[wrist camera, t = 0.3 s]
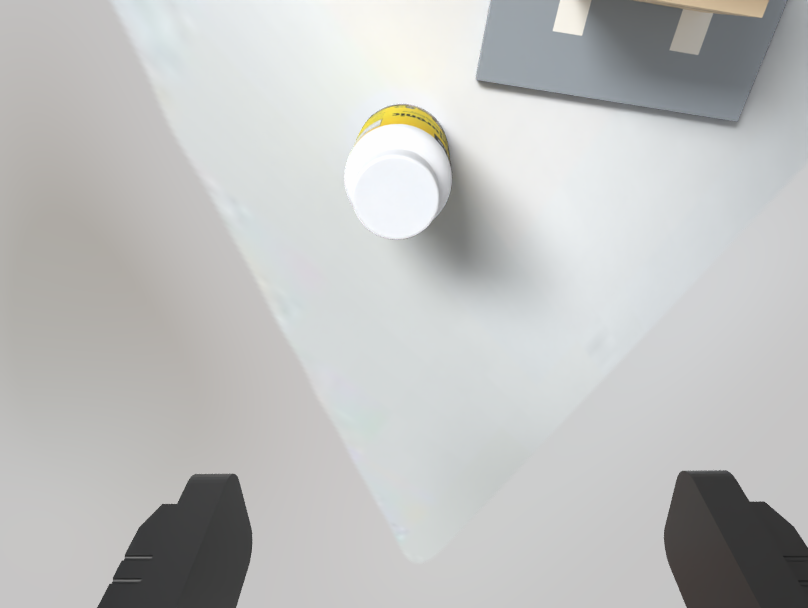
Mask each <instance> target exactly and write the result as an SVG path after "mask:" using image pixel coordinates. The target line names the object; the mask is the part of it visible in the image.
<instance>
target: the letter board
mask: <svg viewBox="0 0 808 608" xmlns="http://www.w3.org/2000/svg"><path fill="white" fill-rule="evenodd" d="M787 1H788V0H769V2H768V4H767V7H766V9H765V12H764V14H763V17H762V18H757V17H747V16H736V15H726V14H715V13H705V12H698V11H692V10H686V9H680V8H674V7H669V6H663V5H657V4H651V3H645V2H639V1H633V0H491V1H490V6H489V11H488V17H487V22H486V27H485V32H484V37H483V43H482V48H481V53H480V58H479V63H478V68H477V74H476V80H480V81H487V82H493V83H499V84H505V85H512V86H518V87H524V88H530V89H536V90H543V91H549V92H555V93H561V94H568V95H574V96H580V97H586V98H593V99H599V100H605V101H611V102H618V103H624V104H630V105H636V106H643V107H649V108H655V109H661V110H667V111H674V112H680V113H686V114H692V115H699V116H705V117H711V118H717V119H724V120H730V121H736V122H738V120H739V117H740V115H741V112H742V110H743V108H744V105H745V103H746V100H747V98H748V95H749V93H750V91H751V88H752V86H753V83H754V81H755V78H756V76H757V73H758V71H759V69H760V66H761V64H762V61H763V59H764V56H765V54H766V52H767V49H768V47H769V44H770V42H771V39H772V37H773V35H774V32H775V30H776V27H777V25H778V22H779V20H780V18H781V15H782V13H783V10H784V8H785V5H786V3H787Z"/></svg>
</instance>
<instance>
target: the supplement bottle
mask: <svg viewBox="0 0 808 608" xmlns="http://www.w3.org/2000/svg"><path fill="white" fill-rule="evenodd" d="M344 183H345V190H346V194H347V197H348V200H349V202H350V204H351V205H352V207H353V209H354V210H355V213H356V215H357V217H358V219H359V220H360V222H361V223H362V224H363V225H364V226H365V227H366V228H367V229H368V230H369V231H371V232H372V233H374V234H376V235H378V236H380V237H383V238H387V239H393V240H399V239H407V238H410V237H413V236H415V235H417V234H419V233H421V232H422V231H423V230H425V229H426V228H427V227H428V226H429V225H430V223H431V222H432V221H433V219H434V218H436V217H437V215H438V214H439V213H440V212H441V210H442V209H443V208H444V206H445V204H446V203H447V200H448V198H449V195H450V191H451V186H452V169H451V163H450V156H449V149H448V143H447V139H446V136H445V133H444V131H443V129H442V127H441V125H440V124H439V122H438V121H437V120H436V118H435V117H434V116H432V115H431V114H430V113H429V112H427V111H426V110H424V109H422V108H420V107H418V106H415V105H411V104H393V105H390V106H387V107H384V108H382V109H380V110H379V111H377V112H376V113H374V114H373V115H372V116H371V117H370V118H369V119H368V120H367V122H366V123H365V124H364V126H363V127H362V129H361V131H360V133H359V135H358V137H357V139H356V142H355V144H354V146H353V148H352V150H351V152H350V154H349V157H348V159H347V163H346V167H345V173H344Z"/></svg>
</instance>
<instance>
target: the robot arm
mask: <svg viewBox="0 0 808 608" xmlns="http://www.w3.org/2000/svg"><path fill="white" fill-rule="evenodd" d="M664 542H665V550H666V555H667V559H668V562H669V565H670V568H671V570H672V573H673V575H674V577H675V580H676V582H677V585H678V587H679V590H680V592H681V595H682V597H683V600H684V602H685V604H686V606H687V608H808V547H807V546H806V545H805V543H804V541H803V540H802V538H801V537H800V535H799V534H798V532H797V531H796V529H795V528H794V527H793V526H792V525H791V524H790V523H789V522H788V521H786V520H785V519H784V518H783V517H782V516H781V515H779V514H778V513H777V512H776V511H775V510H774V509H773V508H771V507H770V506H769V505H768V504H767V503H765V502H749V500H748V499H747V497H746V495H745V494H744V492H743V490H742V489H741V487H740V485H739V484H738V482H737V481H736V479H735V478H734V476H733V475H732V474H731V473H730V472H728V471H682V472H680V473H679V475H678V477H677V480H676V485H675V489H674V493H673V497H672V501H671V505H670V509H669V513H668V517H667V521H666V525H665V530H664ZM251 552H252V530H251V526H250V521H249V517H248V513H247V510H246V506H245V502H244V498H243V494H242V490H241V487H240V483H239V479H238V477H237V476H236V475H235V474H195V475H193V476H192V477H191V478H190V479H189V481H188V483H187V485H186V487H185V489H184V491H183V493H182V495H181V497H180V499H179V501H178V504H162V505H161V506H160V507H159V508H158V509H157V510H156V511H155V512H154V513H153V514H152V515H151V516H150V517H149V518H148V519H147V520H146V521H145V522H144V523H143V524H142V525H141V526H140V527H139V529H138V531H137V533H136V535H135V537H134V538H133V540H132V542H131V544H130V546H129V548H128V550H127V552H126V554H125V559H124V561H122V562H121V563H120V565H119V567H118V569H117V571H116V573H115V575H114V577H113V582H112V584H109V586H108V588H107V590H106V592H105V594H104V596H103V598H102V600H101V602H100V604H99V605H98V607H97V608H236V606H237V602H238V599H239V596H240V593H241V589H242V586H243V583H244V580H245V576H246V573H247V570H248V566H249V563H250V558H251Z"/></svg>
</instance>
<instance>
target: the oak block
mask: <svg viewBox="0 0 808 608" xmlns="http://www.w3.org/2000/svg"><path fill="white" fill-rule="evenodd" d="M633 1H639V2H645V3H651V4H657V5H663V6H669V7H674V8H680V9H686V10H692V11H698V12H705V13H715V14H726V15H736V16H747V17H757V18H762V17H763V14H764V12H765V9H766V7H767V4H768V2H769V0H633Z"/></svg>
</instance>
